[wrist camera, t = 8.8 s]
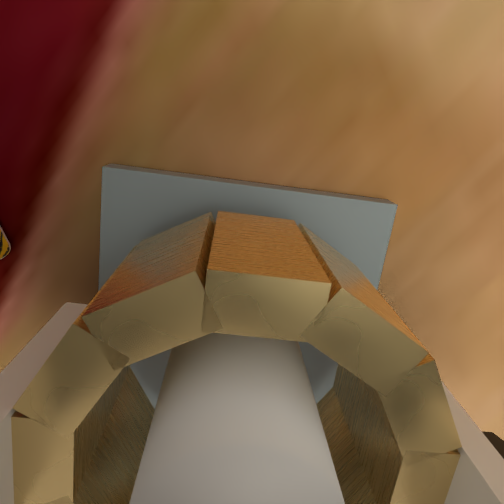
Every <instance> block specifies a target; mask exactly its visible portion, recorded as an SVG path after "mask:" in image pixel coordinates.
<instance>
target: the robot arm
mask: <svg viewBox="0 0 504 504" xmlns="http://www.w3.org/2000/svg"><path fill="white" fill-rule="evenodd" d="M87 305H88V304H80V303H70V302H66V303H65V304H64V305H63V306H62V307H61V308H60V309H59V310H58V311H57V312H56V314H55V315H54V316H53V317H52V318H51V319H50V320H49V321H48V322H47V323H46V324H45V325H44V326H43V328H42V329H41V330H40V331H39V332H38V333H37V334H36V335H35V336H34V337H33V338H32V339H31V340H30V341H29V343H28V344H27V345H26V346H25V347H24V348H23V349H22V350H21V351H20V352H19V353H18V354H17V355H16V357H15V358H14V359H13V360H12V361H11V362H10V363H9V364H8V365H7V366H6V367H5V368H4V369H3V371H2V372H1V373H0V504H14V485H13V457H12V429H11V416H12V415H13V414H14V412H15V411H16V410H14V409H13V406H14V405H15V403H16V402H17V401H18V399H19V398H20V396H21V395H22V394H23V392H24V391H25V389H26V388H27V387H28V385H29V384H30V382H31V381H32V380H33V378H34V377H35V376H36V374H37V373H38V371H39V370H40V369H41V367H42V366H43V364H44V363H45V362H46V360H47V359H48V357H49V356H50V355H51V353H52V352H53V350H54V349H55V348H56V346H57V345H58V343H59V342H60V341H61V339H62V338H63V336H64V335H65V334H66V332H67V331H68V330H69V328H70V327H71V325H72V324H73V323H74V321H75V320H76V319H77V318H78V316H79V315H80V314H81V313H82V311H83V310H84V309H85V308H86V306H87ZM441 382H442V381H441ZM442 385H443V388H444V392H445V395H446V398H447V401H448V404H449V407H450V411H451V414H452V417H453V420H454V423H455V426H456V429H457V433H458V436H459V439H460V442H461V445H462V447H461V448H458V449H457V450H458V452H459V453H460V455H461V456H460V458H459V461H458V464H457V467H456V470H455V473H454V476H453V479H452V482H451V485H450V488H449V491H448V494H447V497H446V500H445V502H444V504H504V441H503V440H502V439H500V438H499V437H498V436H497V435H495V434H494V433H493V432H482V431H481V430H480V429H479V427H478V426H477V425H476V424H475V422H474V421H473V420H472V419H471V417H470V416H469V415H468V414H467V412H466V411H465V410H464V409H463V407H462V406H461V405H460V404H459V402H458V401H457V400H456V399H455V397H454V396H453V395H452V394H451V392H450V391H449V390H448V389H447V387H446V386H445V385H444V384H443V382H442Z"/></svg>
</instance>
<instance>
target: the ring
mask: <svg viewBox="0 0 504 504" xmlns="http://www.w3.org/2000/svg"><path fill="white" fill-rule="evenodd" d="M210 333H221V334H230V335H240V336H250V337H260V338H269V339H279V340H289V341H299V342H308V343H309V344H311V345H312V346H314V347H315V348H317V349H318V350H319V351H321V352H322V353H324V354H325V355H327V356H328V357H329V358H331V359H332V360H334V361H335V362H337V363H338V366H337V371H336V375H335V380H334V384H333V387H332V388H331V389H330V390H329V391H328V392H327V393H326V395H325V396H324V397H323V398H322V399H321V400H320V401H319V402H318V403H317V404H316V405H317V409H318V412H319V416H320V419H321V423H322V426H323V429H324V433H325V436H326V440H327V443H328V447H329V450H330V454H331V457H332V461H333V464H334V468H335V471H336V475H337V478H338V482H339V485H340V488H341V492H342V495H343V499H344V502H345V504H444V502H445V500H446V497H447V494H448V491H449V488H450V485H451V482H452V479H453V476H454V473H455V470H456V467H457V464H458V461H459V458H460V456H461V455H460V453H459V452H458V450H457V449H458V448H461V447H462V445H461V442H460V439H459V436H458V433H457V429H456V426H455V423H454V420H453V417H452V414H451V411H450V407H449V404H448V401H447V398H446V395H445V392H444V388H443V385H442V382H441V379H440V376H439V373H438V369H437V366H436V363H435V360H434V359H433V358H432V356H431V355H430V354H429V352H428V351H427V349H426V348H425V347H424V346H423V345H422V343H421V342H420V341H419V340H418V339H417V338H416V336H415V335H414V334H413V333H412V332H411V330H410V329H409V328H408V327H407V326H406V324H405V323H404V322H403V321H402V320H401V318H400V317H399V316H398V315H397V314H396V312H395V311H394V310H393V309H392V308H391V306H390V305H389V304H388V303H387V302H386V301H385V299H384V298H383V297H382V296H381V295H380V293H379V292H378V291H377V290H376V289H375V287H374V286H373V285H372V284H371V283H370V281H369V280H368V279H367V278H366V277H365V275H364V274H363V273H362V272H361V271H360V269H359V268H358V267H357V266H356V265H355V264H353V263H352V262H351V261H350V260H348V259H347V258H346V257H344V256H343V255H342V254H340V253H339V252H338V251H337V250H335V249H334V248H333V247H331V246H330V245H329V244H327V243H326V242H325V241H324V240H322V239H321V238H320V237H318V236H317V235H316V234H314V233H313V232H312V231H311V230H309V229H308V228H307V227H305V226H304V225H303V224H301V223H300V224H299V225H298V226H297V224H296V223H295V221H294V220H290V219H282V218H274V217H266V216H258V215H250V214H242V213H234V212H226V211H218V214H217V219H216V221H215V219H214V217H213V215H212V213H211V212H209V213H206V214H204V215H201V216H199V217H197V218H194V219H192V220H189V221H187V222H185V223H182V224H180V225H177V226H175V227H173V228H170V229H168V230H165V231H163V232H160V233H158V234H156V235H153V236H151V237H148V238H146V239H144V240H141V241H140V243H139V244H138V245H135V246H134V248H133V249H132V250H131V251H130V253H129V254H128V255H127V256H126V258H125V259H124V260H123V261H122V263H121V264H120V265H119V266H118V268H117V269H116V270H115V271H114V273H113V274H112V275H111V276H110V278H109V279H108V280H107V281H106V283H105V284H104V285H103V286H102V288H101V289H100V290H99V291H98V293H97V294H96V295H95V296H94V298H93V299H92V300H91V301H90V303H89V304H88V305H87V306H86V308H85V309H84V310H83V311H82V313H81V314H80V315H79V316H78V318H77V319H76V320H75V321H74V323H73V324H72V325H71V327H70V328H69V330H68V331H67V332H66V334H65V335H64V336H63V338H62V339H61V341H60V342H59V343H58V345H57V346H56V348H55V349H54V350H53V352H52V353H51V355H50V356H49V357H48V359H47V360H46V362H45V363H44V364H43V366H42V367H41V369H40V370H39V371H38V373H37V374H36V376H35V377H34V378H33V380H32V381H31V382H30V384H29V385H28V387H27V388H26V389H25V391H24V392H23V394H22V395H21V396H20V398H19V399H18V401H17V402H16V403H15V405H14V406H13V409H14V410H16V411H15V412H14V414H13V415H12V416H11V429H12V457H13V485H14V504H129V503H130V499H131V495H132V492H133V488H134V484H135V481H136V477H137V473H138V470H139V466H140V462H141V459H142V455H143V451H144V448H145V444H146V440H147V437H148V433H149V429H150V426H151V422H152V418H153V415H154V411H155V409H154V407H153V406H152V404H151V402H150V400H149V399H148V397H147V395H146V393H145V392H144V390H143V388H142V386H141V385H140V383H139V381H138V380H137V378H136V376H135V374H134V373H133V371H132V369H131V367H130V366H131V364H133V363H136V362H138V361H141V360H143V359H146V358H148V357H151V356H154V355H156V354H159V353H161V352H164V351H166V350H169V349H171V348H174V347H177V346H179V345H182V344H184V343H187V342H189V341H192V340H195V339H197V338H200V337H202V336H205V335H207V334H210Z"/></svg>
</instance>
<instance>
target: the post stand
mask: <svg viewBox="0 0 504 504" xmlns="http://www.w3.org/2000/svg"><path fill="white" fill-rule="evenodd" d="M397 206H398V205H397V204H395V203H393V202H391V201H389V200H387V199H379V198H371V197H364V196H356V195H348V194H341V193H333V192H325V191H318V190H310V189H302V188H295V187H287V186H279V185H272V184H264V183H256V182H249V181H241V180H233V179H226V178H218V177H210V176H203V175H195V174H187V173H180V172H172V171H164V170H157V169H149V168H141V167H134V166H126V165H118V164H108V165H105V166H103V167H102V194H101V226H100V258H99V290H100V289H101V288H102V286H103V285H104V284H105V283H106V281H107V280H108V279H109V278H110V276H111V275H112V274H113V273H114V271H115V270H116V269H117V268H118V266H119V265H120V264H121V263H122V261H123V260H124V259H125V258H126V256H127V255H128V254H129V253H130V251H131V250H132V249H133V248H134V246H135V245H138V244H139V243H140V241H141V240H144V239H146V238H148V237H151V236H153V235H156V234H158V233H160V232H163V231H165V230H168V229H170V228H173V227H175V226H177V225H180V224H182V223H185V222H187V221H189V220H192V219H194V218H197V217H199V216H201V215H204V214H206V213H209V212H211V213H212V215H213V217H214V219H215V221H216V219H217V214H218V211H226V212H234V213H242V214H250V215H258V216H266V217H274V218H282V219H290V220H294V221H295V223H296V224H297V226H298V225H299V224H300V223H301V224H303V225H304V226H305V227H307V228H308V229H309V230H311V231H312V232H313V233H314V234H316V235H317V236H318V237H320V238H321V239H322V240H324V241H325V242H326V243H327V244H329V245H330V246H331V247H333V248H334V249H335V250H337V251H338V252H339V253H340V254H342V255H343V256H344V257H346V258H347V259H348V260H350V261H351V262H352V263H353V264H355V265H356V266H357V267H358V268H359V269H360V271H361V272H362V273H363V274H364V275H365V277H366V278H367V279H368V280H369V281H370V283H371V284H372V285H373V286H374V287H375V289H376V290H377V289H378V285H379V281H380V277H381V273H382V268H383V264H384V260H385V256H386V252H387V248H388V243H389V239H390V235H391V231H392V227H393V222H394V218H395V214H396V210H397ZM99 290H98V291H99ZM337 366H338V363H337V362H335V361H334V360H332V359H331V358H329V357H328V356H327V355H325V354H324V353H322V352H321V351H319V350H318V349H317V348H315V347H314V346H312V345H311V344H309V343H308V342H299V341H289V340H279V339H269V338H260V337H250V336H240V335H230V334H221V333H210V334H207V335H205V336H202V337H200V338H197V339H195V340H192V341H189V342H187V343H184V344H182V345H179V346H177V347H174V348H171V349H169V350H166V351H164V352H161V353H159V354H156V355H154V356H151V357H148V358H146V359H143V360H141V361H138V362H136V363H133V364H131V366H130V367H131V369H132V371H133V373H134V374H135V376H136V378H137V380H138V381H139V383H140V385H141V386H142V388H143V390H144V392H145V393H146V395H147V397H148V399H149V400H150V402H151V404H152V406H153V407H154V409H155V411H154V415H153V418H152V422H151V426H150V429H149V433H148V437H147V440H146V444H145V448H144V451H143V455H142V459H141V462H140V466H139V470H138V473H137V477H136V481H135V484H134V488H133V492H132V495H131V499H130V503H129V504H345V502H344V499H343V495H342V492H341V488H340V485H339V482H338V478H337V475H336V471H335V468H334V464H333V461H332V457H331V454H330V450H329V447H328V443H327V440H326V436H325V433H324V429H323V426H322V423H321V419H320V416H319V412H318V409H317V405H316V404H317V403H318V402H319V401H320V400H321V399H322V398H323V397H324V396H325V395H326V393H327V392H328V391H329V390H330V389H331V388H332V387H333V384H334V380H335V375H336V371H337Z"/></svg>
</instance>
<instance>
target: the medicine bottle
mask: <svg viewBox="0 0 504 504" xmlns="http://www.w3.org/2000/svg"><path fill="white" fill-rule="evenodd" d="M10 250H11V246H10V243H9V241H8V239H7V237H6V235H5V233H4V231H3V230H2V228H1V226H0V259H2V258H4V257H5V256H7V255H8V254H9V252H10Z"/></svg>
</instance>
